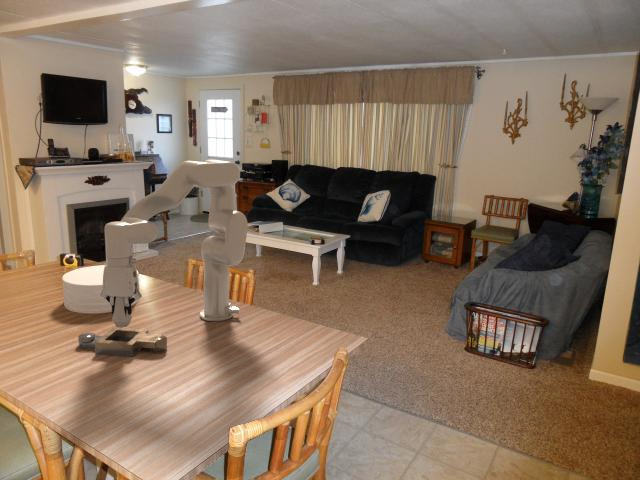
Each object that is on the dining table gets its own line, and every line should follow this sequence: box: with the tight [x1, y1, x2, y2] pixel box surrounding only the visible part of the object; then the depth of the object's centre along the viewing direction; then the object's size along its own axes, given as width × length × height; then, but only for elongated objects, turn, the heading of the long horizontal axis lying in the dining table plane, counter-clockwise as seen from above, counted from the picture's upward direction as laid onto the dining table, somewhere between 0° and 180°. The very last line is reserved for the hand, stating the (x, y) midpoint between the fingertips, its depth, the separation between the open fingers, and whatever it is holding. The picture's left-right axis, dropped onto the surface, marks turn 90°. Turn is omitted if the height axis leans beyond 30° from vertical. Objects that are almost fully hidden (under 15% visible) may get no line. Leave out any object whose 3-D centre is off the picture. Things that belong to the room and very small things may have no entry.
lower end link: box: [77, 332, 143, 358], centre depth 154 cm, size 20×12×3 cm, turn 86°
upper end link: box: [95, 326, 168, 354], centre depth 153 cm, size 20×12×4 cm, turn 86°
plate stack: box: [61, 264, 140, 314], centre depth 192 cm, size 28×28×12 cm
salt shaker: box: [111, 297, 133, 328], centre depth 151 cm, size 6×6×13 cm
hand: (122, 315), depth 152 cm, fingers closed on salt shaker, 3 cm apart
